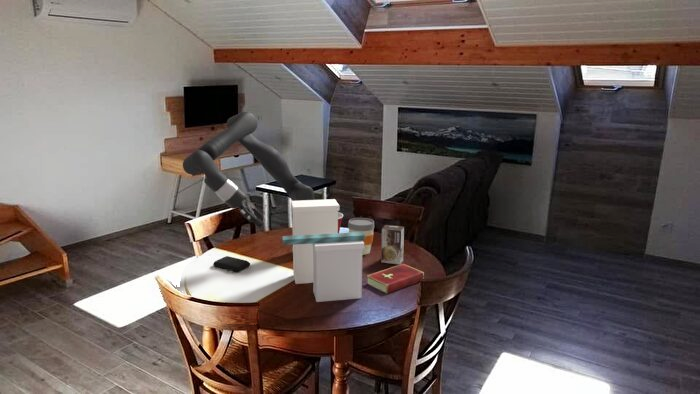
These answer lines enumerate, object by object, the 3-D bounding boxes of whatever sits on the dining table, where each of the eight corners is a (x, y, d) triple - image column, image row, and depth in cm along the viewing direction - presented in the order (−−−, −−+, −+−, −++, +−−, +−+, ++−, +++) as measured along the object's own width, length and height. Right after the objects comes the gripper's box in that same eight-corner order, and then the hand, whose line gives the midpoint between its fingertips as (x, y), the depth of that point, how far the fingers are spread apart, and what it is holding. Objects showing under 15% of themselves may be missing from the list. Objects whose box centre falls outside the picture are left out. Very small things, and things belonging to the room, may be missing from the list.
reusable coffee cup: (360, 245, 233) (361, 216, 230) (379, 251, 225) (380, 221, 221) (342, 251, 225) (342, 221, 221) (360, 258, 216) (361, 227, 213)
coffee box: (403, 260, 215) (405, 226, 211) (400, 265, 209) (401, 230, 205) (384, 257, 218) (385, 224, 214) (380, 262, 212) (381, 228, 208)
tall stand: (294, 284, 188) (293, 207, 180) (292, 274, 197) (290, 200, 189) (338, 281, 191) (339, 205, 184) (334, 271, 201) (334, 199, 193)
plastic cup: (320, 239, 241) (320, 216, 238) (324, 232, 252) (324, 211, 249) (341, 240, 239) (341, 218, 237) (344, 234, 250) (345, 212, 247)
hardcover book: (423, 281, 194) (424, 271, 193) (386, 295, 181) (387, 285, 180) (402, 272, 203) (403, 262, 202) (366, 284, 190) (366, 274, 189)
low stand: (315, 302, 173) (315, 246, 167) (311, 291, 182) (311, 237, 177) (363, 298, 176) (364, 243, 171) (357, 287, 186) (358, 234, 181)
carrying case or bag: (209, 268, 203) (235, 275, 196) (209, 262, 202) (235, 268, 195) (226, 260, 212) (252, 267, 205) (226, 254, 211) (252, 260, 205)
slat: (283, 245, 168) (283, 239, 167) (282, 241, 172) (282, 236, 171) (364, 240, 174) (364, 235, 174) (362, 237, 178) (362, 232, 177)
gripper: (237, 192, 168) (269, 222, 174) (237, 180, 181) (267, 208, 187) (222, 206, 168) (254, 235, 174) (223, 193, 181) (253, 221, 188)
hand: (261, 221), depth 181 cm, fingers open, 8 cm apart
